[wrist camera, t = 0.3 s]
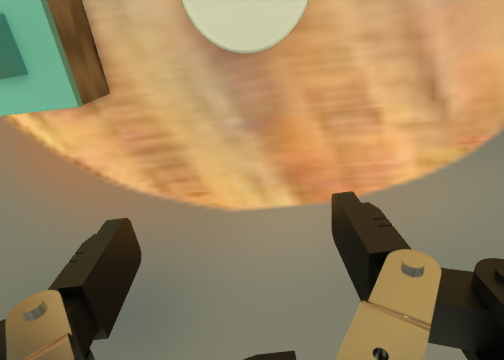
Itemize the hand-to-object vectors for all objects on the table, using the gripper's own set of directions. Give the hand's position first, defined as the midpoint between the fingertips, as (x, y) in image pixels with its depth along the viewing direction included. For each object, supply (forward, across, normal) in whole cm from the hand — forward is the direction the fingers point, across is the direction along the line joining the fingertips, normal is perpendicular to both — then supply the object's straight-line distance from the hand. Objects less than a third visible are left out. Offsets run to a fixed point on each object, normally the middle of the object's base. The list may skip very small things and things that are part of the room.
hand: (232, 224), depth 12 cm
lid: (+23, +21, -8) cm, 32 cm away
